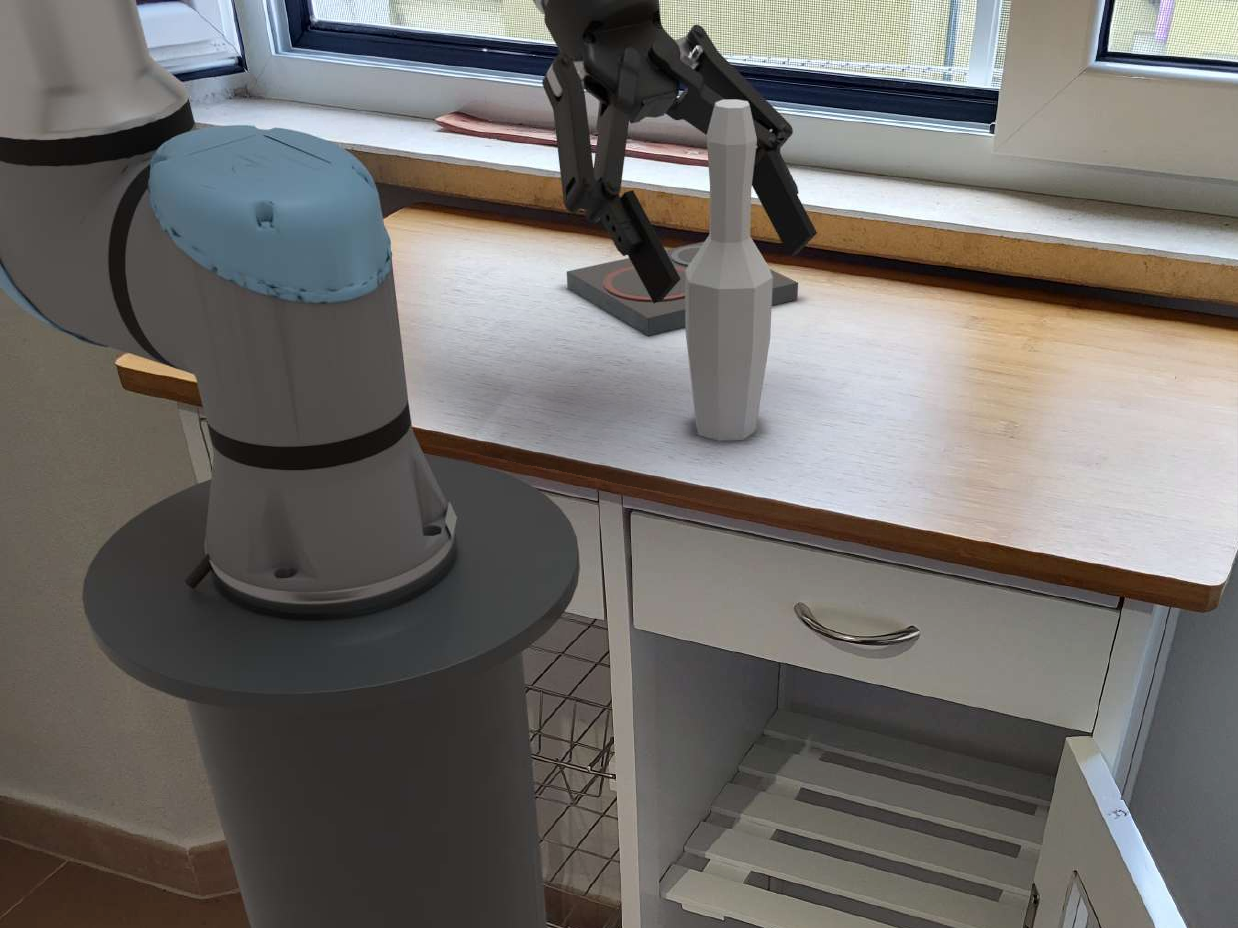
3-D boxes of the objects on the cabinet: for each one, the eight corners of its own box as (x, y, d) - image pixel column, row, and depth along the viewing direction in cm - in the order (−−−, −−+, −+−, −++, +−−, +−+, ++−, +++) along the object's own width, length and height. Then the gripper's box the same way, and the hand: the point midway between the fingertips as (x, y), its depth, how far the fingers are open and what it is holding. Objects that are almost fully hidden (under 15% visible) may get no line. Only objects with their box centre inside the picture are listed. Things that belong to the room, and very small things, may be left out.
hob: (648, 336, 121) (647, 316, 120) (567, 288, 130) (566, 269, 129) (797, 299, 128) (798, 281, 127) (711, 256, 137) (711, 238, 135)
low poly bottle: (758, 450, 105) (770, 119, 90) (675, 441, 106) (673, 113, 91) (774, 415, 110) (788, 95, 95) (695, 407, 111) (696, 89, 96)
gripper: (691, -1, 107) (826, 256, 109) (421, 52, 94) (580, 342, 96) (743, -78, 100) (885, 197, 103) (461, -32, 88) (630, 281, 90)
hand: (737, 268), depth 99 cm, fingers open, 13 cm apart
